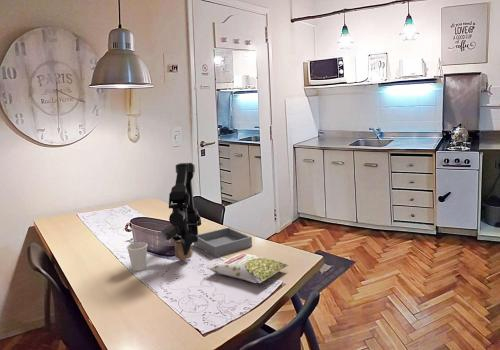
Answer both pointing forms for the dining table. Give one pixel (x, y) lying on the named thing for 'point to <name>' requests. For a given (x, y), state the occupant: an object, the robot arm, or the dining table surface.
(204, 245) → the grey bin
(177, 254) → the walnut block
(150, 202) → the dining table surface
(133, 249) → the dixie cup
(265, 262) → the frozen beans
